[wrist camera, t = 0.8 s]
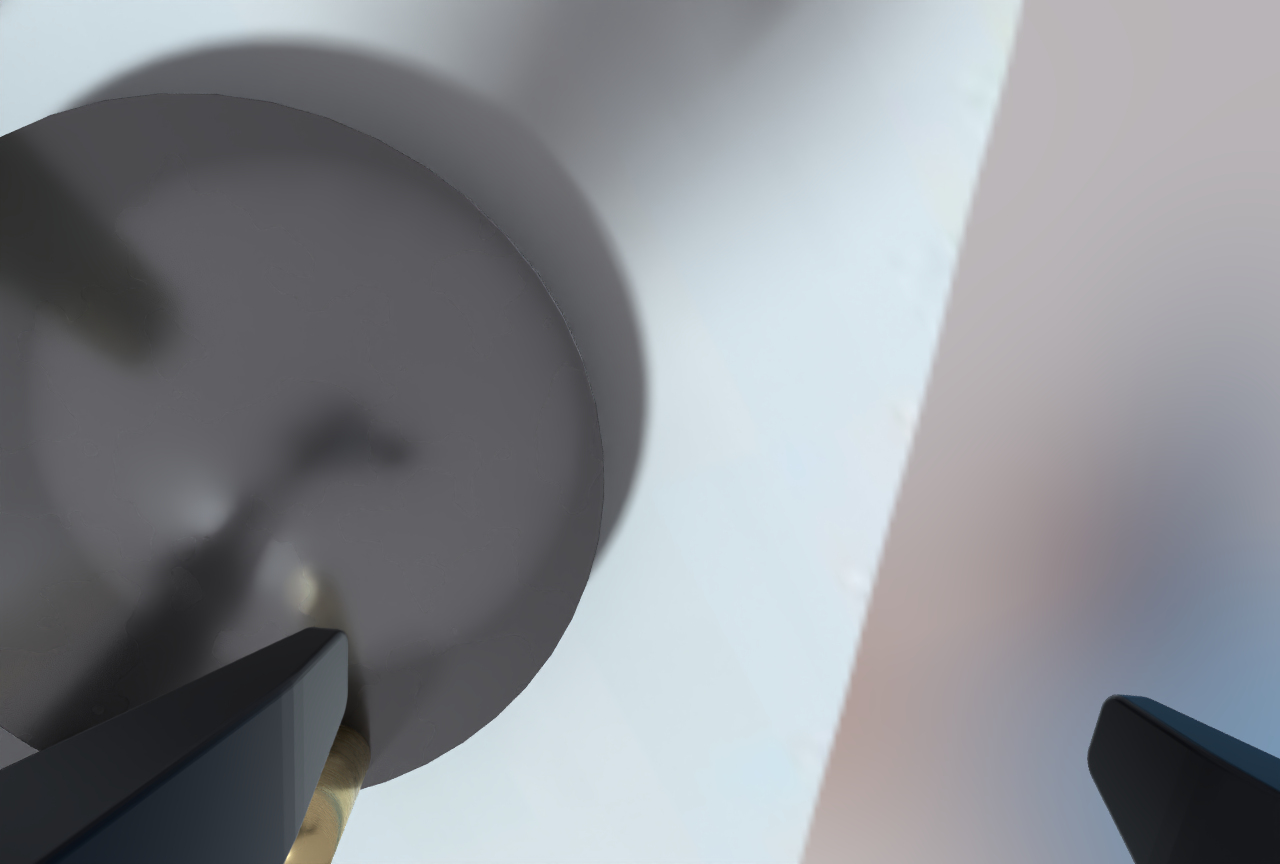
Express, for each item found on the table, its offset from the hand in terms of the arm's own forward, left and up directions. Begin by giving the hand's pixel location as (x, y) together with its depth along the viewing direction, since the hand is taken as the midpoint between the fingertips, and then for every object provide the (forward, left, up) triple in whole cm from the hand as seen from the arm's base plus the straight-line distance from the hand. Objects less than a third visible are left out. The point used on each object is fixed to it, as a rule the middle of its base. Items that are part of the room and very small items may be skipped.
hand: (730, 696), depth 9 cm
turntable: (-10, +2, -12) cm, 15 cm away
